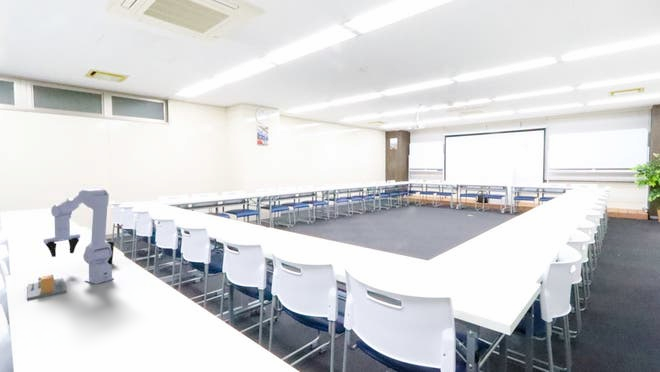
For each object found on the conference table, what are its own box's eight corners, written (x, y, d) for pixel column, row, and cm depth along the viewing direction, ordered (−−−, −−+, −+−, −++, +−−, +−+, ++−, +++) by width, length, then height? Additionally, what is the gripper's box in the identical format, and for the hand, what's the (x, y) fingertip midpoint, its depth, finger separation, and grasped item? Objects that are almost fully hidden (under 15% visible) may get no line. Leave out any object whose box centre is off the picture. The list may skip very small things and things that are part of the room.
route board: (66, 292, 132) (66, 289, 132) (27, 300, 123) (27, 297, 123) (62, 280, 147) (62, 277, 146) (27, 286, 138) (27, 284, 138)
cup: (107, 266, 169) (107, 245, 168) (94, 266, 169) (93, 244, 169) (117, 262, 177) (117, 241, 176) (104, 262, 177) (104, 241, 176)
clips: (61, 286, 136) (61, 280, 136) (31, 291, 129) (31, 286, 129) (60, 282, 140) (60, 277, 140) (31, 287, 134) (31, 282, 134)
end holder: (53, 283, 139) (53, 278, 139) (38, 286, 135) (38, 281, 135) (53, 280, 144) (53, 274, 144) (38, 282, 140) (38, 277, 140)
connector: (53, 291, 130) (53, 277, 130) (41, 293, 127) (40, 279, 127) (53, 288, 133) (53, 275, 133) (40, 291, 130) (40, 277, 130)
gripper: (74, 225, 163) (75, 250, 163) (40, 230, 150) (40, 257, 150) (82, 226, 160) (82, 252, 160) (47, 231, 147) (48, 258, 147)
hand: (62, 254), depth 155 cm, fingers open, 7 cm apart
